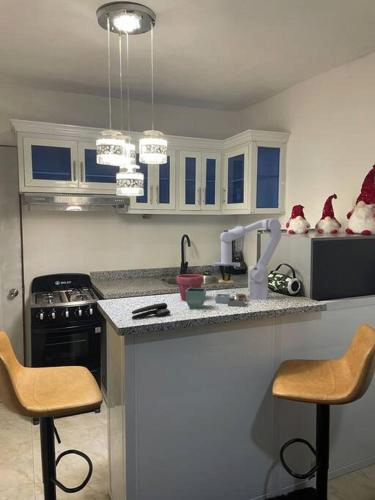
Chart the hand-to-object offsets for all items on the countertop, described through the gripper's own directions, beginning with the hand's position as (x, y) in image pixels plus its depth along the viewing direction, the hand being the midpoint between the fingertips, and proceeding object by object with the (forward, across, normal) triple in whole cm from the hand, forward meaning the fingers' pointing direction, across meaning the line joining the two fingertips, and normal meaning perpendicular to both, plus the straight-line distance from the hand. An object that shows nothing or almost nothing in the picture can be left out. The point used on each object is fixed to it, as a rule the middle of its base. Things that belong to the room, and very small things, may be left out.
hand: (226, 279), depth 209 cm
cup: (+10, -1, -10) cm, 14 cm away
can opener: (+11, -31, -42) cm, 53 cm away
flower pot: (+11, -13, -23) cm, 28 cm away
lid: (+1, 0, 0) cm, 1 cm away
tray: (+10, +6, -15) cm, 19 cm away
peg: (+10, +6, -15) cm, 19 cm away
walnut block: (+10, +8, -6) cm, 14 cm away
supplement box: (+11, +17, +23) cm, 31 cm away
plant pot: (+11, -19, -4) cm, 22 cm away
